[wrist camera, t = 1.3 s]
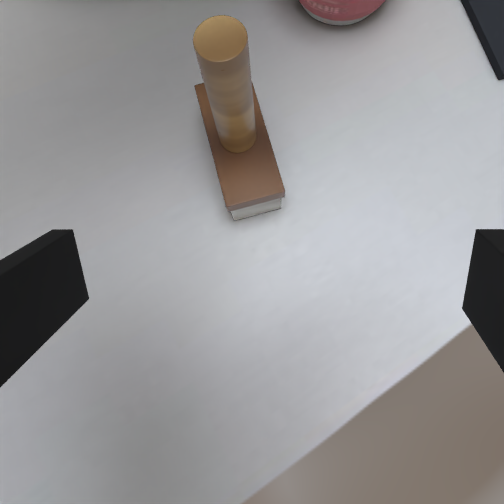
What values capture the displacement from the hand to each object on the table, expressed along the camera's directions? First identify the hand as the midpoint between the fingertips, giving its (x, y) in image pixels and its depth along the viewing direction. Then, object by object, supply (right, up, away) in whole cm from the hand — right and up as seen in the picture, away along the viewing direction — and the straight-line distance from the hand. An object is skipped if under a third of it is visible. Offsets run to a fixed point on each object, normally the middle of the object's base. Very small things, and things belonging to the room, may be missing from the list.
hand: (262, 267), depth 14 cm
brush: (-1, +8, +21) cm, 23 cm away
